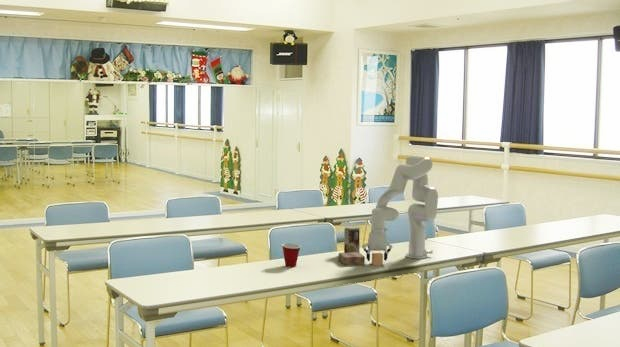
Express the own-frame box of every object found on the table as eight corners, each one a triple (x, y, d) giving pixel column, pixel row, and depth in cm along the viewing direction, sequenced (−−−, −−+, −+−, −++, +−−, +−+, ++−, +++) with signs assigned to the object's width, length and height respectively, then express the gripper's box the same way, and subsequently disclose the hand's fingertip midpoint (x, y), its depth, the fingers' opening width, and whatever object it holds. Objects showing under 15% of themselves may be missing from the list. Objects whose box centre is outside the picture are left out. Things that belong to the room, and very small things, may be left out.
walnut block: (358, 260, 391) (358, 252, 390) (364, 265, 379) (364, 256, 378) (338, 261, 388) (338, 252, 388) (343, 266, 377) (343, 257, 376)
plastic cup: (298, 269, 367) (298, 247, 366) (279, 267, 369) (279, 246, 368) (302, 264, 378) (303, 243, 376) (284, 263, 380) (284, 242, 379)
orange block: (380, 262, 385) (380, 252, 384) (382, 265, 380) (382, 254, 379) (371, 263, 384) (372, 252, 383) (373, 265, 379) (374, 254, 378)
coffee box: (359, 254, 405) (360, 228, 403) (359, 257, 398) (359, 230, 397) (344, 254, 405) (344, 227, 404) (343, 256, 399) (344, 229, 397)
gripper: (391, 229, 385) (389, 258, 386) (361, 229, 382) (360, 259, 384) (394, 231, 377) (393, 261, 379) (364, 231, 375) (363, 261, 376)
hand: (376, 260), depth 381 cm, fingers open, 9 cm apart
